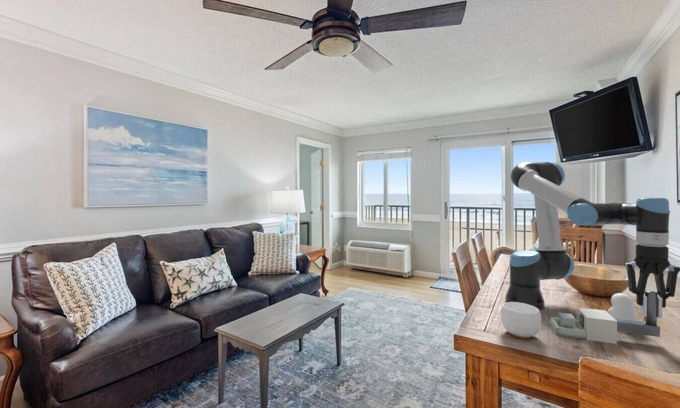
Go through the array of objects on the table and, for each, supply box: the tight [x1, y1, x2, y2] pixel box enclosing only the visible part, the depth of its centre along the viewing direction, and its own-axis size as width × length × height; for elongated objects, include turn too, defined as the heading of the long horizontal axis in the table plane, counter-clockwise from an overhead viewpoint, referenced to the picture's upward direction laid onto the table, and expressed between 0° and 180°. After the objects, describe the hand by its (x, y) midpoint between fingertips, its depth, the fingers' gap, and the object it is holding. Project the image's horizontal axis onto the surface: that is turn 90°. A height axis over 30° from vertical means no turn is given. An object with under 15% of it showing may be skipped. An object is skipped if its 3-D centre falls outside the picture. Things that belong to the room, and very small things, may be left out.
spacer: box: [557, 311, 576, 329], centre depth 110 cm, size 5×5×4 cm
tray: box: [549, 316, 586, 341], centre depth 110 cm, size 8×10×3 cm
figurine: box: [607, 292, 638, 321], centre depth 114 cm, size 7×8×12 cm
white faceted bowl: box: [500, 302, 542, 339], centre depth 108 cm, size 12×12×10 cm
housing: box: [577, 307, 618, 345], centre depth 107 cm, size 8×10×8 cm
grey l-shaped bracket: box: [579, 289, 661, 338], centre depth 104 cm, size 20×3×14 cm, turn 67°
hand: (650, 315), depth 101 cm, fingers closed on grey l-shaped bracket, 3 cm apart
